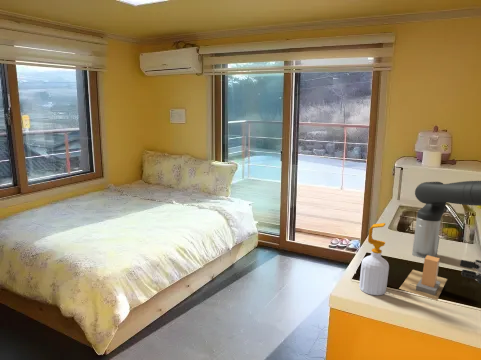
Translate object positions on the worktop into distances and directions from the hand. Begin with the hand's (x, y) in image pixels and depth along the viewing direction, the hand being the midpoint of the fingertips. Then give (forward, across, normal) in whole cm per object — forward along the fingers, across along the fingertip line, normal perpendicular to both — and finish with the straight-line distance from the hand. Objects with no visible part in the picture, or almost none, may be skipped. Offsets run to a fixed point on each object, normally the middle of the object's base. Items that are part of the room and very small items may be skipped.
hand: (461, 267), depth 122 cm
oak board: (+10, -4, +12) cm, 16 cm away
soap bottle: (+26, +7, +12) cm, 30 cm away
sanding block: (+8, -2, +11) cm, 14 cm away
